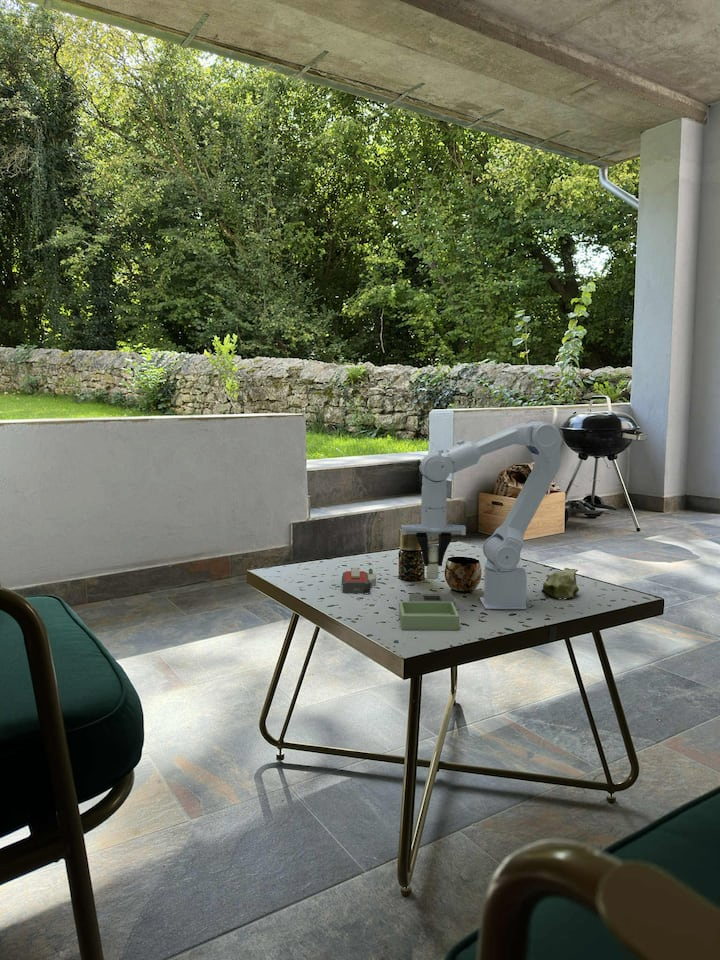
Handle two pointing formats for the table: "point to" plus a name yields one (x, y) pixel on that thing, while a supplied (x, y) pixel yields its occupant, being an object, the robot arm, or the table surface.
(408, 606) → the parts tray
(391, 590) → the table surface
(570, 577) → the green rock
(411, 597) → the fuse block
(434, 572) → the cylinder
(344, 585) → the red belt-clip case
